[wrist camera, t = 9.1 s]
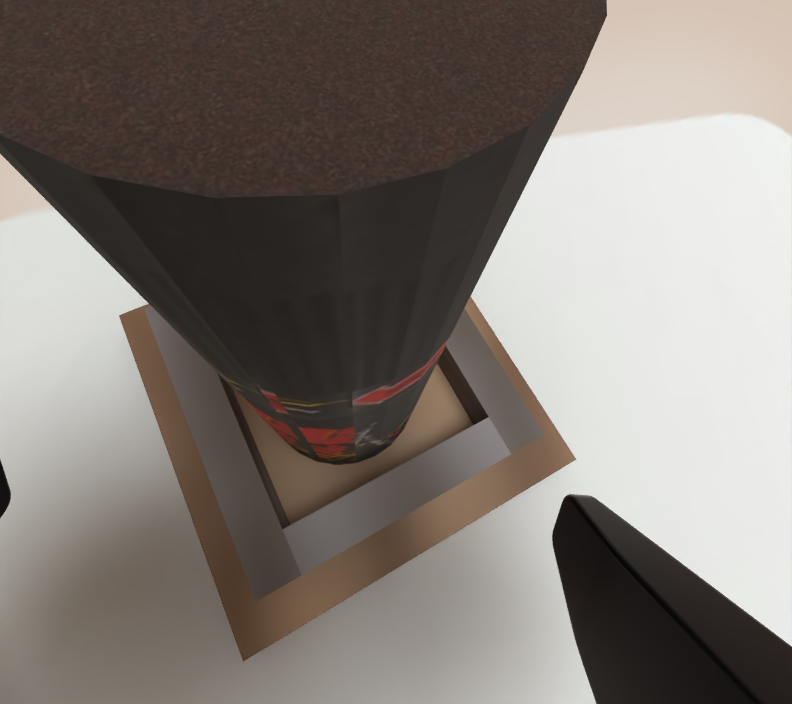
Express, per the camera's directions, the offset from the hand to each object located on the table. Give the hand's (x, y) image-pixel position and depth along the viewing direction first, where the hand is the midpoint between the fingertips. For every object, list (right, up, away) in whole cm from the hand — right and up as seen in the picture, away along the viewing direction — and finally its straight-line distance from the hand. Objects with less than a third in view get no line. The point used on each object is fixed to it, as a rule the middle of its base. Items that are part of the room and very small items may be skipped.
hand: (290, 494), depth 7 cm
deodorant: (0, +1, +11) cm, 11 cm away
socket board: (-1, +1, +12) cm, 12 cm away
